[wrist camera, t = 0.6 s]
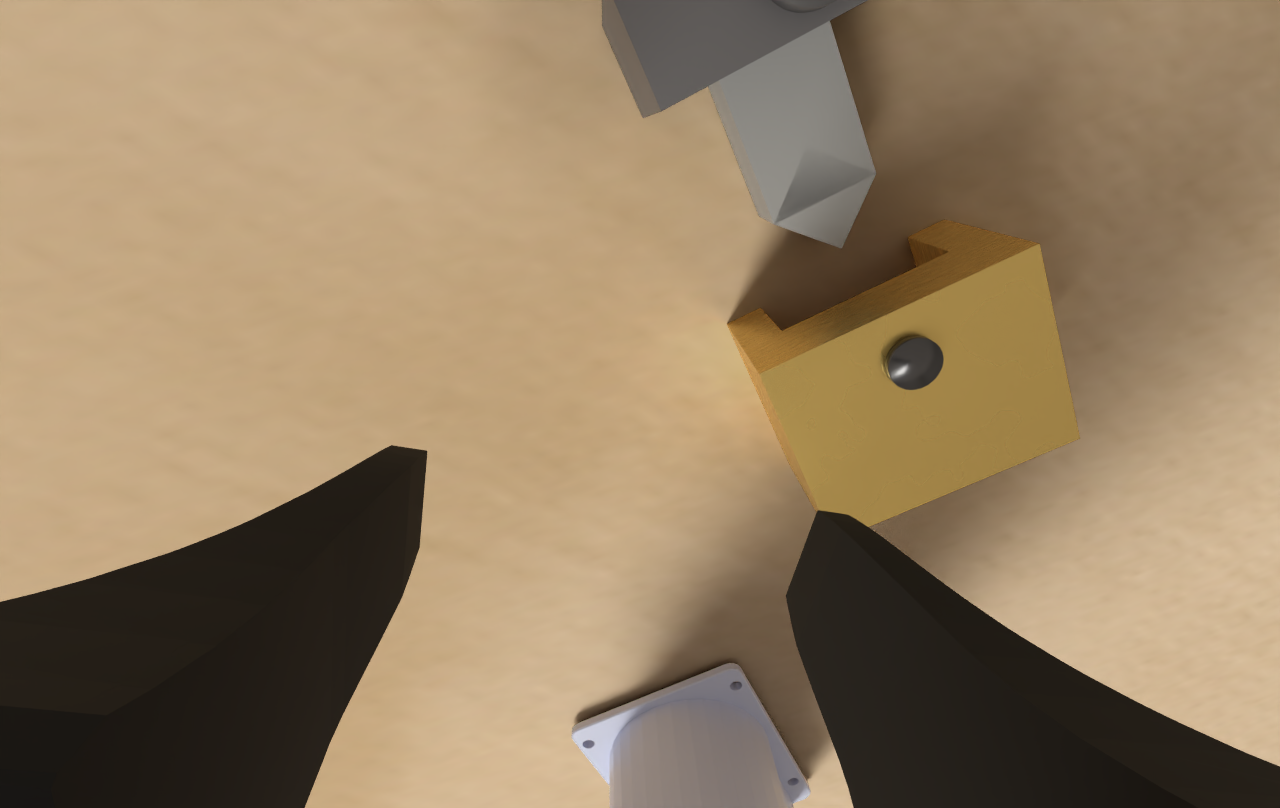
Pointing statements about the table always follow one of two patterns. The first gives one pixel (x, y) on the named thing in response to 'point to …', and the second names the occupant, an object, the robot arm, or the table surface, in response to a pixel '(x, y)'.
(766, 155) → the gray block
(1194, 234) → the table surface
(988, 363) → the wooden knob block
